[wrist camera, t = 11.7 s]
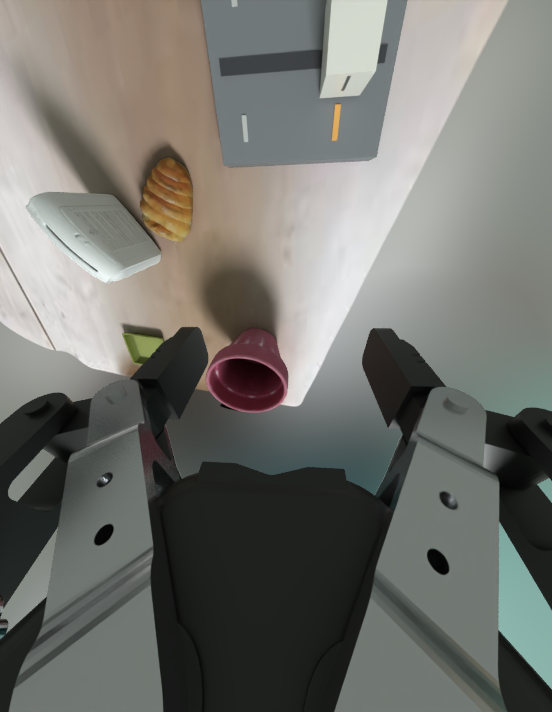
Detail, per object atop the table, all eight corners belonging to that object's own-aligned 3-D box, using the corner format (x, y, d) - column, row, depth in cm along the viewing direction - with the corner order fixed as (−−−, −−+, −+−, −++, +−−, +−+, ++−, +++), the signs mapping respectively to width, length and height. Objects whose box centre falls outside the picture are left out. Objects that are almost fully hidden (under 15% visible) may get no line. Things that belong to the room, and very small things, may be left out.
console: (229, 167, 27) (223, 164, 24) (203, -43, 18) (189, -81, 16) (368, 160, 26) (376, 156, 23) (410, -69, 17) (430, -114, 15)
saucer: (127, 327, 44) (121, 332, 43) (167, 334, 45) (162, 339, 43) (138, 358, 50) (133, 363, 48) (173, 363, 50) (169, 369, 49)
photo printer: (95, 207, 31) (4, 211, 21) (111, 187, 29) (20, 182, 19) (151, 268, 36) (99, 294, 26) (167, 255, 34) (118, 277, 24)
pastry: (155, 145, 26) (138, 139, 23) (205, 179, 28) (195, 177, 25) (146, 220, 31) (131, 223, 28) (188, 245, 33) (178, 250, 30)
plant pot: (216, 354, 47) (196, 397, 37) (237, 304, 39) (219, 341, 29) (271, 377, 50) (266, 421, 40) (301, 335, 42) (303, 378, 32)
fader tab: (319, 98, 21) (325, 75, 17) (325, 7, 18) (335, -48, 14) (359, 95, 20) (375, 71, 16) (372, 2, 17) (396, -55, 13)
